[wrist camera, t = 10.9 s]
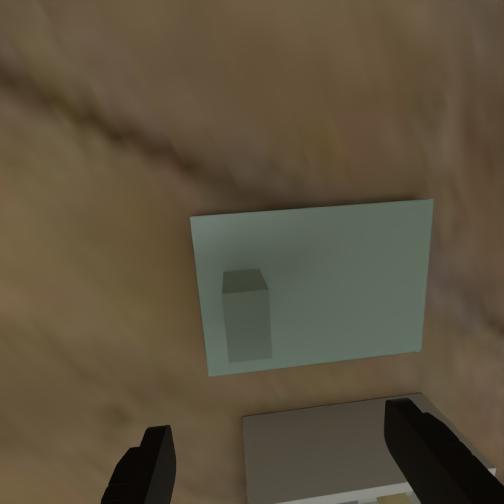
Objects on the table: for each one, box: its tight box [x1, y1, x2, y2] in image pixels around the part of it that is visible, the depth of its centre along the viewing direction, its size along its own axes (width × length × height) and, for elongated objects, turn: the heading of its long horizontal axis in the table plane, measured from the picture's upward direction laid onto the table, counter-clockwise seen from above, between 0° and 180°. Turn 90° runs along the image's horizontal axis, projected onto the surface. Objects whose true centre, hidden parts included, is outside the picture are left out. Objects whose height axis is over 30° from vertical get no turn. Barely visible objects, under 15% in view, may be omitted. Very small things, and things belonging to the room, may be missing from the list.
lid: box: [190, 199, 434, 377], centre depth 21 cm, size 20×14×8 cm
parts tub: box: [242, 393, 496, 504], centre depth 25 cm, size 20×14×8 cm
